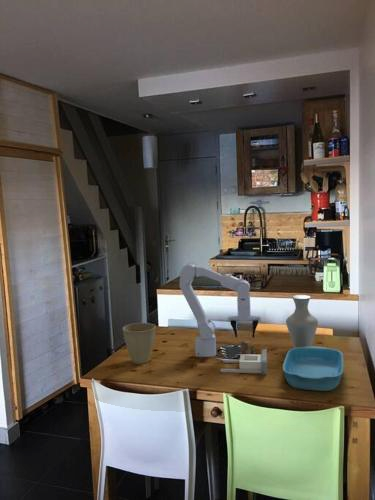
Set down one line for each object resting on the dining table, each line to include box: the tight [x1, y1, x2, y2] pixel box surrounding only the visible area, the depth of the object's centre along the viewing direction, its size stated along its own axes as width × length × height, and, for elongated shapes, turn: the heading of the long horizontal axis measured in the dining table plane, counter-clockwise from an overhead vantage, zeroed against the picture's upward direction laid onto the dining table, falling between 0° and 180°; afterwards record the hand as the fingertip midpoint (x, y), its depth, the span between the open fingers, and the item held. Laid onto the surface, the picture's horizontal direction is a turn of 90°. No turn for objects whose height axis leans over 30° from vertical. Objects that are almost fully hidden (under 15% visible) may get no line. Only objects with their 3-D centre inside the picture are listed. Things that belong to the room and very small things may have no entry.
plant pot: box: [122, 322, 157, 365], centre depth 199 cm, size 15×15×16 cm
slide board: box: [220, 358, 262, 374], centre depth 184 cm, size 20×16×2 cm
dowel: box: [240, 340, 251, 355], centre depth 198 cm, size 4×4×7 cm
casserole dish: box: [282, 345, 344, 392], centre depth 173 cm, size 37×22×7 cm, turn 161°
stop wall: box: [261, 348, 268, 376], centre depth 182 cm, size 2×15×6 cm, turn 169°
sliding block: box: [238, 353, 262, 370], centre depth 183 cm, size 9×9×4 cm
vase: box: [285, 294, 319, 348], centre depth 205 cm, size 14×14×25 cm
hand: (244, 336), depth 197 cm, fingers open, 7 cm apart
